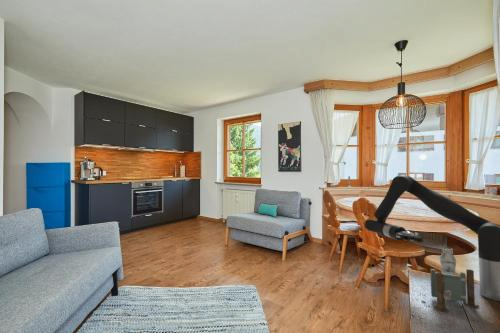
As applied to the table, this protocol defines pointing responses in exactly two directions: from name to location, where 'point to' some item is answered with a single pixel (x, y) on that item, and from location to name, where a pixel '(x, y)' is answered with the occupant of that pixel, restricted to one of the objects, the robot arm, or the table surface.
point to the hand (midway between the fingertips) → (421, 240)
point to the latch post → (441, 293)
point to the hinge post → (470, 290)
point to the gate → (451, 285)
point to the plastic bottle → (448, 261)
